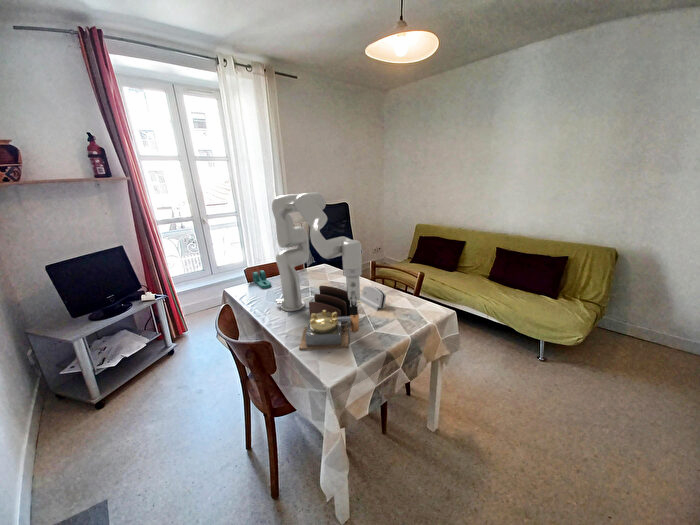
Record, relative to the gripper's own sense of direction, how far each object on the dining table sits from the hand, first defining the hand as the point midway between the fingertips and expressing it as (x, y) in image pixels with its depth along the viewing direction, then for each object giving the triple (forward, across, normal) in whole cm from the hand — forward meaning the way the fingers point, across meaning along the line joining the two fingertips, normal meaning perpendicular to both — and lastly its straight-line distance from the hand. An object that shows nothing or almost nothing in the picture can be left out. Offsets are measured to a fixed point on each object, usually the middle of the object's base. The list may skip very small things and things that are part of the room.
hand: (353, 308), depth 117 cm
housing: (+13, -1, +12) cm, 18 cm away
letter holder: (+14, +19, +10) cm, 25 cm away
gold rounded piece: (+10, -1, +8) cm, 13 cm away
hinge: (+14, +30, -12) cm, 35 cm away
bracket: (+16, +68, +57) cm, 90 cm away
